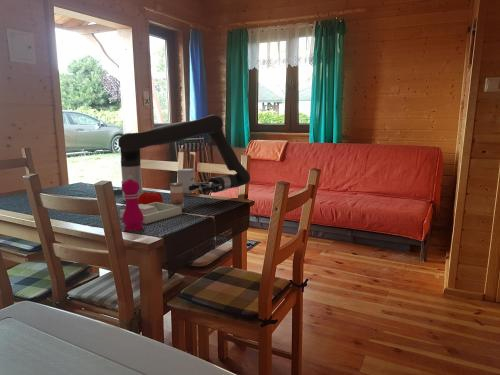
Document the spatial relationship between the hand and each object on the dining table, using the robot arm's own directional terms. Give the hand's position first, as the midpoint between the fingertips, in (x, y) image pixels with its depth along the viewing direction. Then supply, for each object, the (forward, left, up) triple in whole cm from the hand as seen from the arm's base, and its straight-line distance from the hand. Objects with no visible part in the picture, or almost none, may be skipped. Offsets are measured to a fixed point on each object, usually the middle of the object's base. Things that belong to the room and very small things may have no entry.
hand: (195, 189), depth 168 cm
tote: (0, -25, -8) cm, 27 cm away
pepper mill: (+9, -40, -8) cm, 42 cm away
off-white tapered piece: (0, -29, -7) cm, 30 cm away
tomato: (-17, -12, -8) cm, 23 cm away
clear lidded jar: (0, -11, -8) cm, 14 cm away
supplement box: (-29, +22, -8) cm, 37 cm away
